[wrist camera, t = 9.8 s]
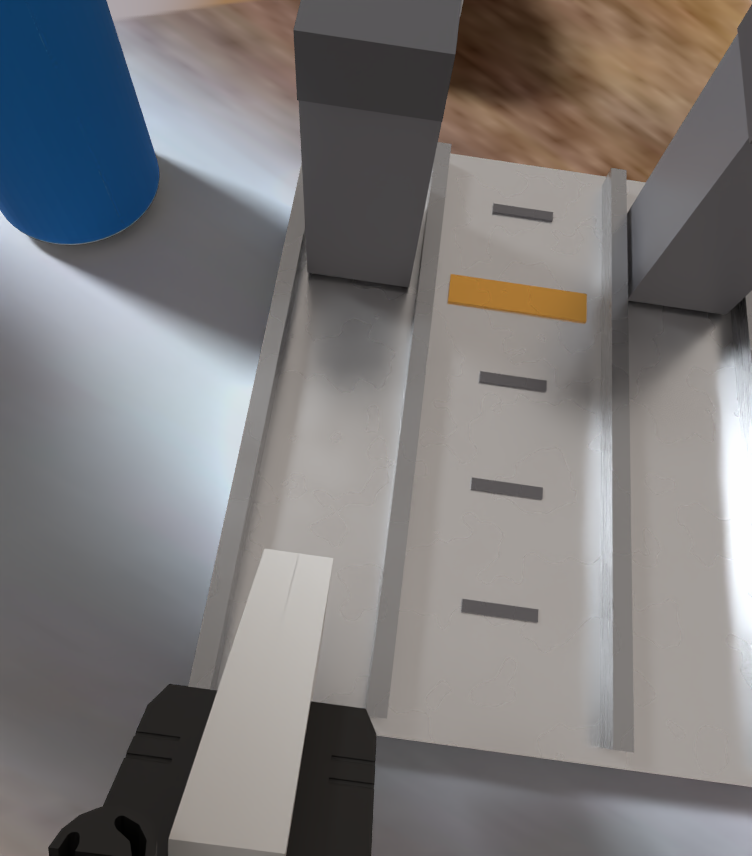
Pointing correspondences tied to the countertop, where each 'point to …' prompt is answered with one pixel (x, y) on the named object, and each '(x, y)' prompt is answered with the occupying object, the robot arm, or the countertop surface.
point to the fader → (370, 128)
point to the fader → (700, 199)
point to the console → (509, 485)
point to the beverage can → (69, 124)
